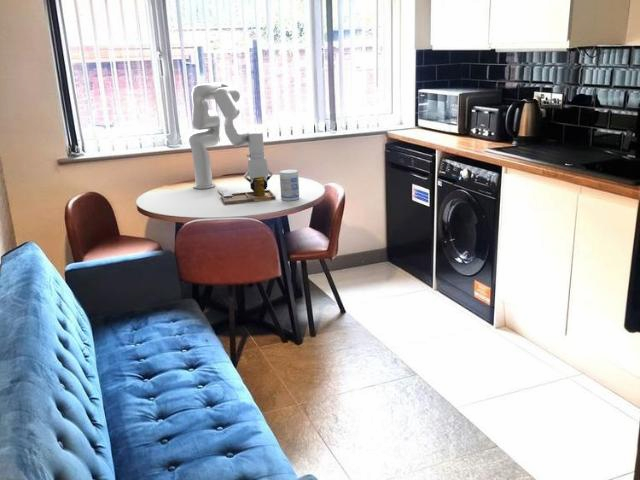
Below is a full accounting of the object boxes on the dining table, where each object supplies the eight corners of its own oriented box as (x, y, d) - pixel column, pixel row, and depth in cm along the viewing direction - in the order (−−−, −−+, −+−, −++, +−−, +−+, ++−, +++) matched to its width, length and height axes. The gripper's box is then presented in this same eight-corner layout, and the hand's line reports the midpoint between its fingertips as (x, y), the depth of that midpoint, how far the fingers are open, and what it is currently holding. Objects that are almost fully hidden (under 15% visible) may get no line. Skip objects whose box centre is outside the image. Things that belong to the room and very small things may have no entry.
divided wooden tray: (221, 197, 316) (221, 194, 315) (269, 192, 322) (269, 189, 322) (224, 204, 301) (224, 202, 300) (275, 199, 307) (275, 196, 307)
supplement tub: (295, 201, 301) (294, 173, 297) (278, 201, 304) (276, 173, 299) (302, 197, 310) (300, 169, 305) (285, 196, 313) (283, 169, 308)
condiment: (268, 195, 312) (266, 173, 308) (253, 198, 308) (252, 175, 304) (261, 192, 318) (260, 170, 314) (247, 195, 314) (246, 173, 310)
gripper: (241, 158, 301) (244, 192, 306) (274, 155, 305) (276, 189, 311) (239, 155, 307) (241, 189, 313) (271, 153, 312) (273, 186, 318)
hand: (259, 189), depth 312 cm, fingers closed on condiment, 6 cm apart
